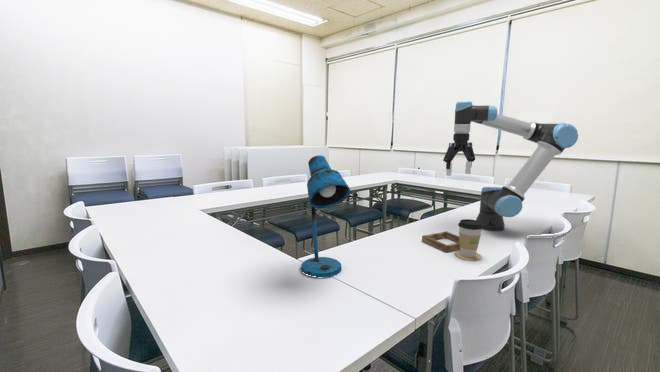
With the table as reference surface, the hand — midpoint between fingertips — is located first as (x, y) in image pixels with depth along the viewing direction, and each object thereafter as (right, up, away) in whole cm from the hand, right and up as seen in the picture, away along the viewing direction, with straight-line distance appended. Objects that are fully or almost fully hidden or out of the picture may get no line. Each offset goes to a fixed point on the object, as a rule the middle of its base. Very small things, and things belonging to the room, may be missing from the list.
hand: (458, 174), depth 165 cm
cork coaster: (-5, -37, -24) cm, 44 cm away
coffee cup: (-5, -36, -24) cm, 44 cm away
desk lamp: (-69, -39, -39) cm, 89 cm away
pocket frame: (-10, -34, -10) cm, 37 cm away
